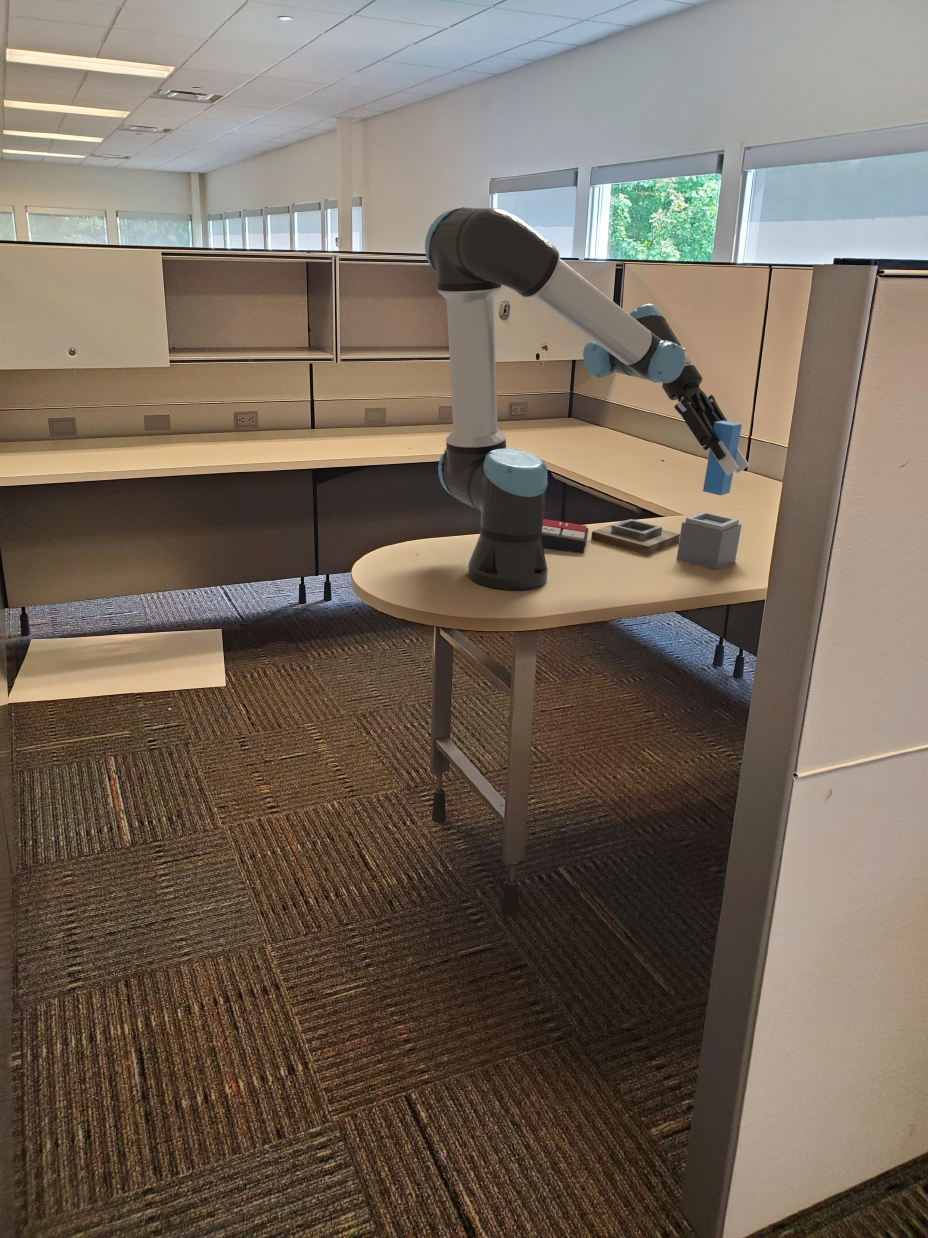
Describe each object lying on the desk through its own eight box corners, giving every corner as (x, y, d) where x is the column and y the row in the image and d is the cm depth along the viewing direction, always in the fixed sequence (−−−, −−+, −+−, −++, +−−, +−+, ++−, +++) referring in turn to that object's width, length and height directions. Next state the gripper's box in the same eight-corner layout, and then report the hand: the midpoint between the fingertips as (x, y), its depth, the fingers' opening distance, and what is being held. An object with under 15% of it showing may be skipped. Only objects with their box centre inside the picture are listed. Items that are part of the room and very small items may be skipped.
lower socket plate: (647, 555, 197) (649, 539, 196) (591, 540, 205) (592, 524, 204) (678, 542, 207) (681, 527, 206) (624, 528, 215) (626, 513, 214)
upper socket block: (716, 570, 191) (723, 527, 187) (676, 559, 196) (682, 517, 193) (735, 561, 197) (742, 519, 194) (696, 550, 202) (702, 510, 199)
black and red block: (586, 538, 195) (515, 526, 197) (582, 557, 197) (512, 546, 198) (589, 524, 205) (521, 513, 207) (586, 543, 207) (519, 532, 209)
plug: (720, 495, 188) (733, 425, 183) (702, 491, 191) (714, 422, 186) (729, 492, 191) (741, 423, 186) (711, 488, 194) (723, 420, 188)
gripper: (670, 364, 182) (734, 464, 178) (709, 360, 194) (770, 455, 191) (642, 388, 187) (704, 486, 183) (682, 383, 199) (741, 475, 196)
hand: (738, 470), depth 187 cm, fingers closed on plug, 4 cm apart
